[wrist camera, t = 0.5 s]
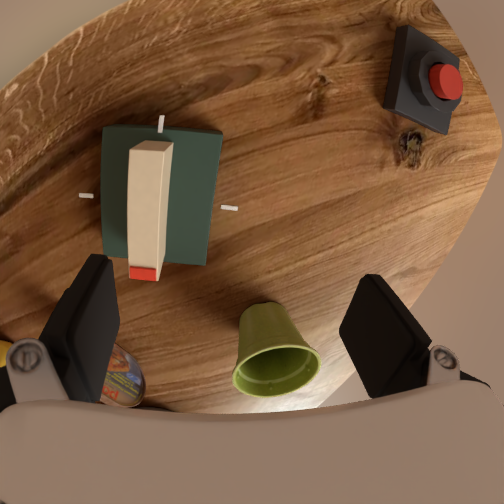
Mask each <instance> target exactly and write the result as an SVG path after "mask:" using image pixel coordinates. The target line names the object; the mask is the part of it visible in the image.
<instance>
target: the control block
mask: <svg viewBox="0 0 504 504" xmlns="http://www.w3.org/2000/svg"><path fill="white" fill-rule="evenodd" d="M459 61H460V59H459V58H458V57H456V56H455V55H454V54H452V53H451V52H450V51H448V50H447V49H445V48H444V47H443V46H441V45H440V44H438V43H437V42H435V41H434V40H432V39H431V38H429V37H428V36H426V35H424V34H423V33H421V32H420V31H418V30H416V29H415V28H413V27H411V26H410V25H405V26H401V27H397V28H396V36H395V43H394V50H393V56H392V63H391V68H390V74H389V80H388V85H387V90H386V95H385V100H384V105H383V108H384V109H386V110H388V111H391V112H393V113H396V114H398V115H400V116H402V117H405V118H407V119H409V120H411V121H413V122H416V123H418V124H420V125H422V126H424V127H426V128H428V129H430V130H432V131H434V132H437V133H440V134H444V135H447V133H448V129H449V124H450V119H451V114H452V111H454V110H455V108H456V107H457V106H458V104H459V103H460V101H461V97H462V94H461V96H460V97H459V98H458V99H456V100H452V99H445V98H440V97H438V96H436V95H435V94H434V93H433V91H432V90H431V88H430V84H429V80H428V73H429V70H430V68H431V67H432V66H433V65H435V64H449V65H452V66H454V67H455V68H456V69H457V70H458V72H459ZM459 73H460V72H459Z"/></svg>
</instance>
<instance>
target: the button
mask: <svg viewBox="0 0 504 504" xmlns="http://www.w3.org/2000/svg"><path fill="white" fill-rule="evenodd" d="M428 80H429V84H430V88H431V90H432V91H433V93H434V94H435V95H436V96H438V97H440V98H445V99H452V100H456V99H458V98H459V97H460V96H461V94H462V91H463V81H462V78H461V75H460V73H459V72H458V70H457V69H456V68H455V67H454V66H452V65H449V64H435V65H433V66H432V67H431V68H430V70H429V73H428Z"/></svg>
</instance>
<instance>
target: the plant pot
mask: <svg viewBox="0 0 504 504" xmlns="http://www.w3.org/2000/svg"><path fill="white" fill-rule="evenodd" d="M320 367H321V358H320V356H319V354H318V352H317V351H316V350H315V349H313V348H311V347H310V346H309V345H308V343H306V342H305V341H304V339H303V338H302V336H301V334H300V333H299V331H298V329H297V328H296V326H295V324H294V323H293V321H292V319H291V317H290V316H289V314H288V312H287V311H286V309H285V308H284V307H283V306H281V305H280V304H277V303H274V302H267V303H263V304H254V305H252V306H251V307H249V308H248V309H246V310H245V311H244V312H243V314H242V315H241V317H240V321H239V346H238V359H237V362H236V366H235V368H234V370H233V373H232V382H233V384H234V386H235V387H236V388H237V389H238V390H239V391H240V392H242V393H244V394H246V395H249V396H253V397H261V398H268V397H277V396H282V395H286V394H289V393H292V392H294V391H296V390H298V389H300V388H302V387H304V386H305V385H307V384H308V383H309V382H311V381H312V380H313V379H314V378H315V377H316V375H317V374H318V372H319V370H320Z"/></svg>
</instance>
